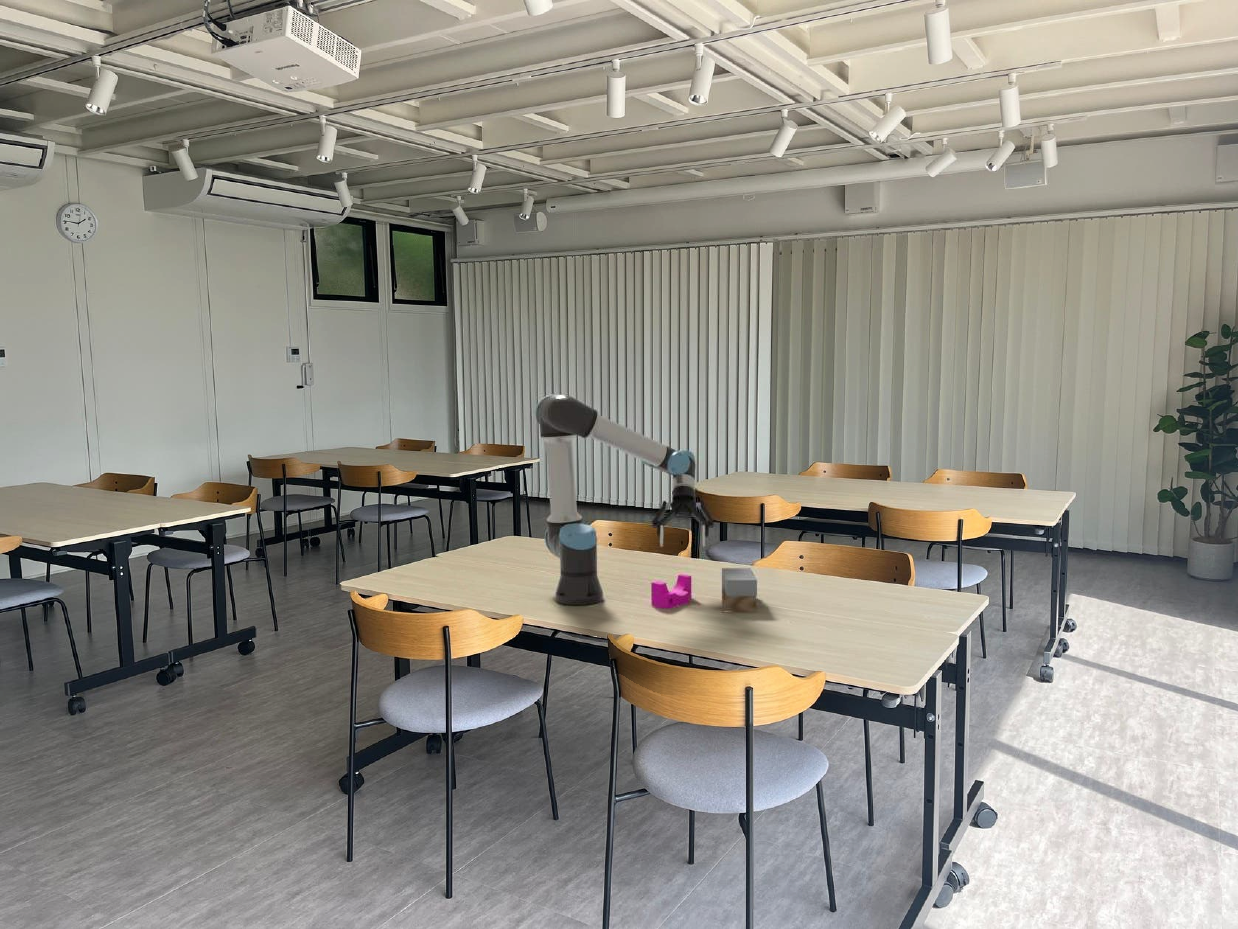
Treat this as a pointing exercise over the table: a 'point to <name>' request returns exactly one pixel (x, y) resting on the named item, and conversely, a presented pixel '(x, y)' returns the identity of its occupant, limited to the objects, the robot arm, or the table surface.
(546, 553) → the table surface
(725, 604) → the tower base
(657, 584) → the toy block
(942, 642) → the table surface
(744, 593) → the tower top
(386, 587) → the table surface
